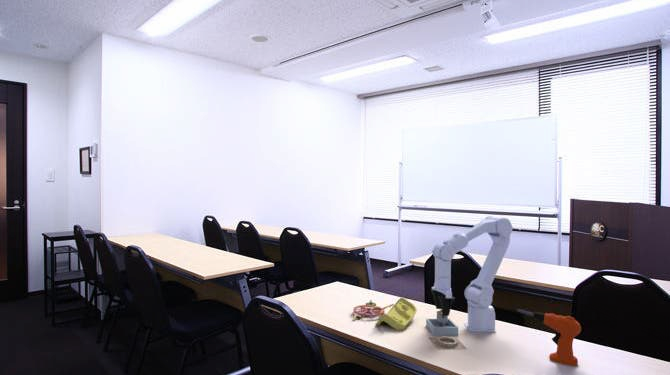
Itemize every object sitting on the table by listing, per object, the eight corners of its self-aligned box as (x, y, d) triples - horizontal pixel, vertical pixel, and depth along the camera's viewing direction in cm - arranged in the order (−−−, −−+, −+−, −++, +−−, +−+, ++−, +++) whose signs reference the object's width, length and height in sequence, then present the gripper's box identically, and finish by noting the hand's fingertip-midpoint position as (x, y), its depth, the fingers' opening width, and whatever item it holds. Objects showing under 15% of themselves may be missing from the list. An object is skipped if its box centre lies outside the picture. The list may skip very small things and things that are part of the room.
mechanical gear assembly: (338, 317, 155) (368, 328, 145) (339, 307, 155) (369, 317, 145) (379, 302, 178) (407, 310, 168) (379, 293, 178) (407, 301, 168)
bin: (449, 326, 146) (449, 318, 146) (458, 336, 137) (458, 327, 137) (426, 326, 146) (426, 318, 146) (433, 335, 136) (433, 327, 136)
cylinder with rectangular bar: (436, 327, 144) (436, 308, 144) (447, 328, 143) (447, 309, 143) (436, 330, 140) (437, 312, 140) (447, 332, 139) (448, 313, 139)
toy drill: (513, 342, 128) (519, 299, 127) (577, 365, 118) (585, 318, 117) (510, 346, 125) (517, 303, 124) (576, 370, 114) (585, 323, 113)
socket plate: (456, 338, 134) (456, 334, 134) (467, 350, 124) (467, 346, 124) (428, 338, 134) (428, 334, 134) (437, 350, 124) (437, 346, 124)
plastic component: (404, 326, 139) (381, 311, 143) (396, 342, 141) (373, 326, 145) (419, 308, 156) (399, 294, 160) (412, 322, 158) (392, 308, 162)
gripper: (426, 271, 148) (426, 305, 148) (438, 280, 134) (437, 318, 134) (444, 271, 149) (443, 306, 149) (457, 280, 134) (457, 318, 134)
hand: (442, 312), depth 141 cm, fingers open, 7 cm apart
